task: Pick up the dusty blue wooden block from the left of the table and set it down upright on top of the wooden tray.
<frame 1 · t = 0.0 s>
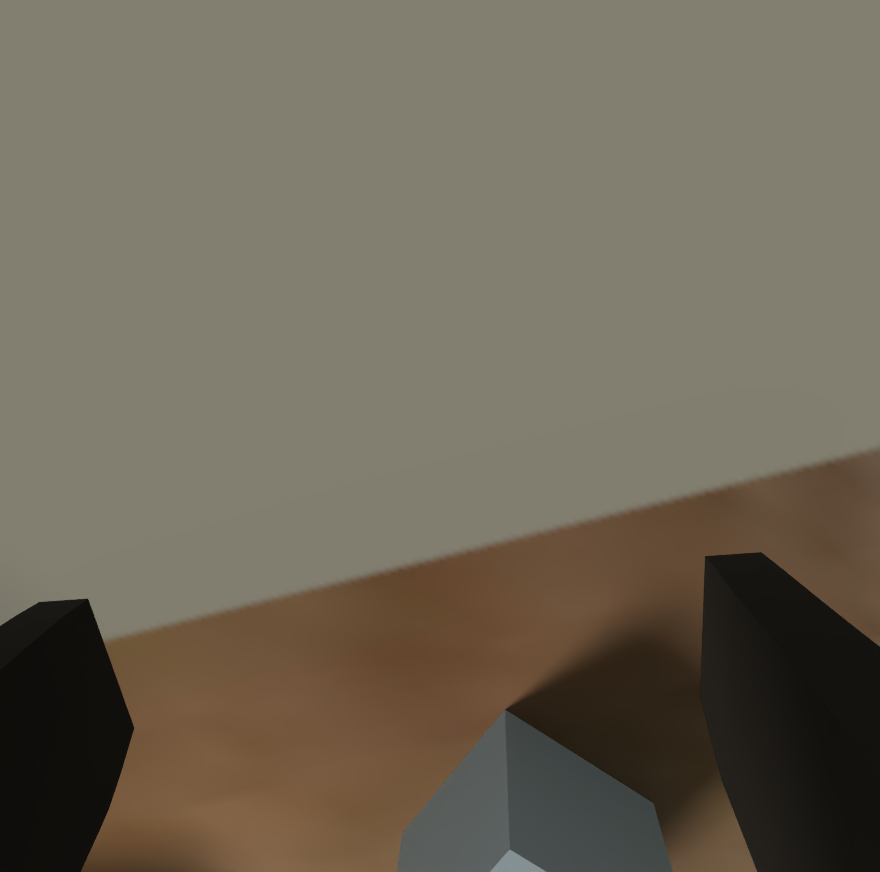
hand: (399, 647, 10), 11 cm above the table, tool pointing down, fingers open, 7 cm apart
dusty blue block: (525, 816, 23), on the table
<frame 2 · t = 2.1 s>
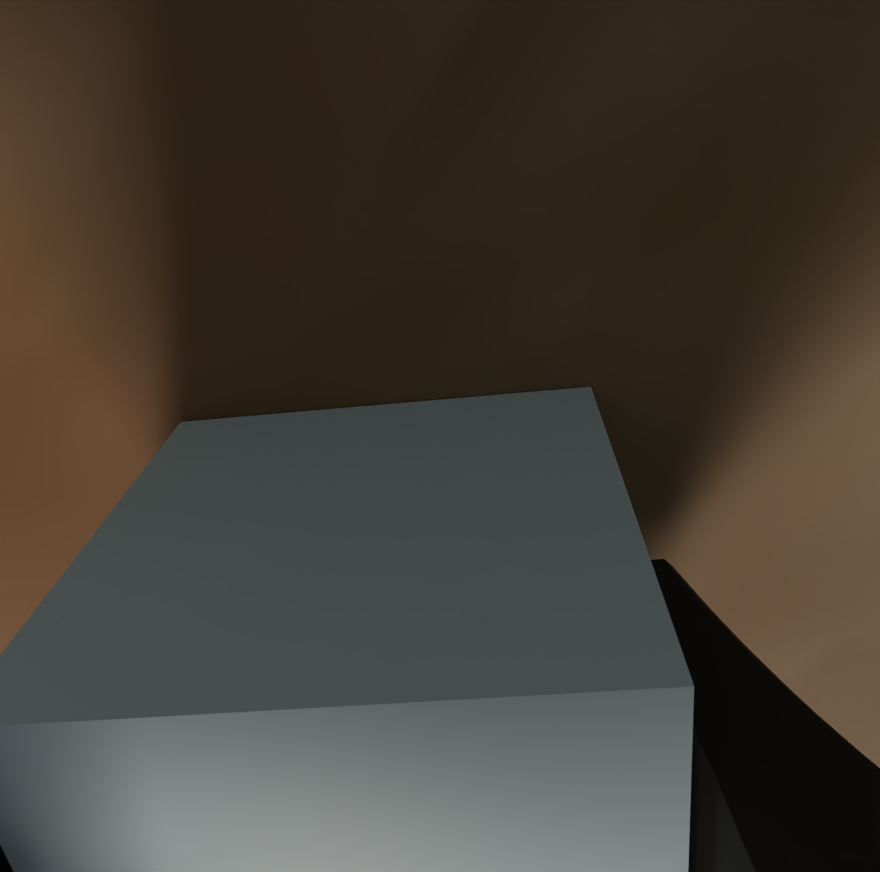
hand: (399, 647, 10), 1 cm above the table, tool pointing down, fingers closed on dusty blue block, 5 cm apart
dusty blue block: (407, 576, 11), on the table, touching gripper
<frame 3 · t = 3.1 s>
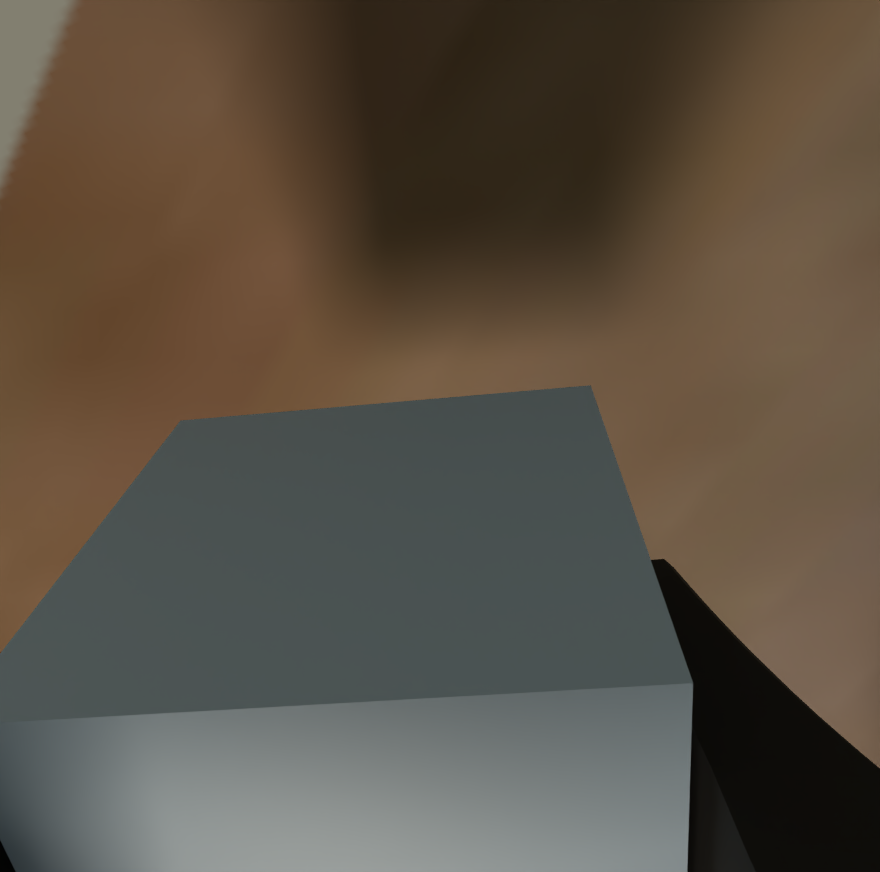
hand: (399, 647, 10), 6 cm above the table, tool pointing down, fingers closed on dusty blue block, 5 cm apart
dusty blue block: (407, 574, 11), point 5 cm above the table, touching gripper
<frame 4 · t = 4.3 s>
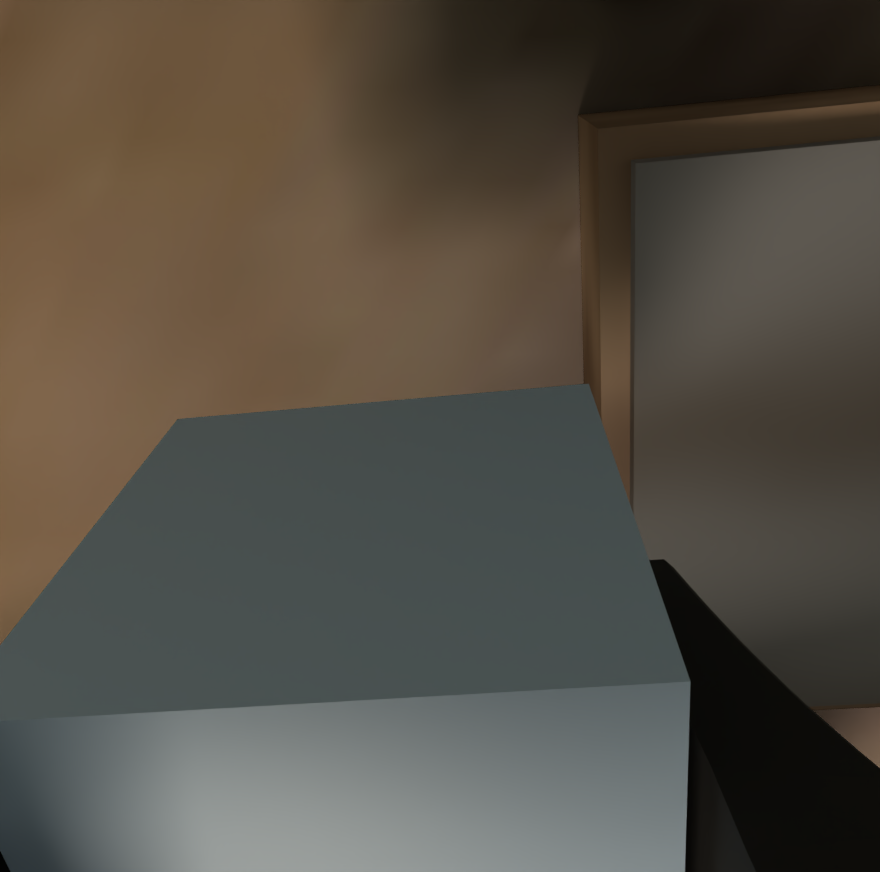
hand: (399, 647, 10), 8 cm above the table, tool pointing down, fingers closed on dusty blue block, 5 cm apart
dusty blue block: (405, 573, 11), point 7 cm above the table, touching gripper
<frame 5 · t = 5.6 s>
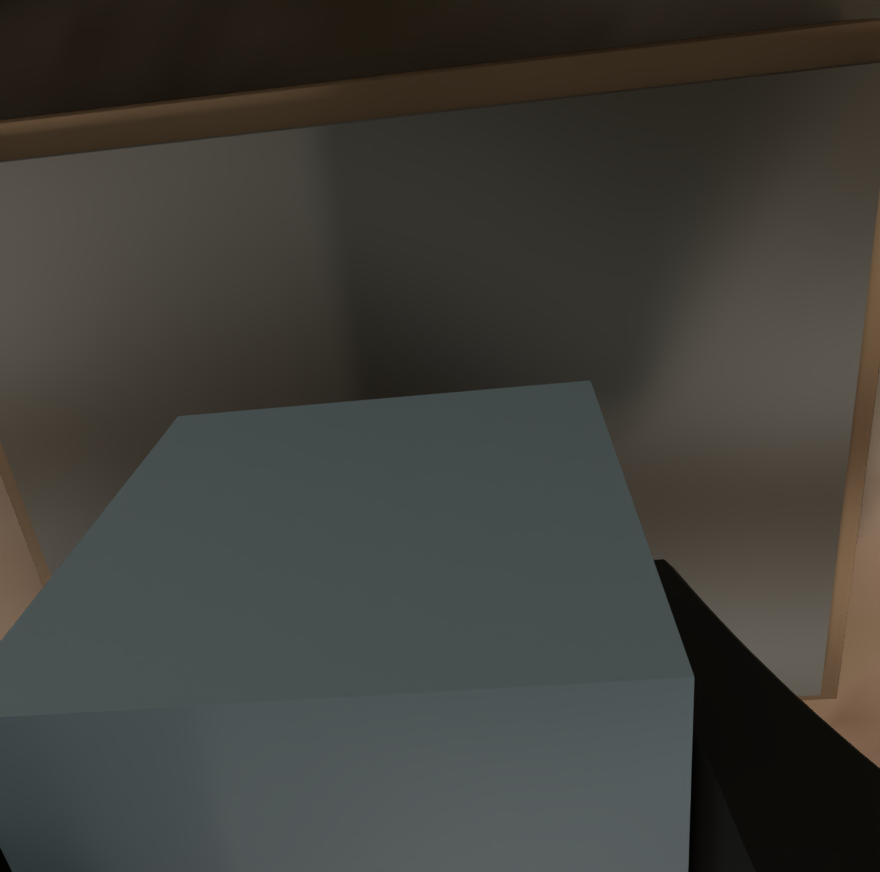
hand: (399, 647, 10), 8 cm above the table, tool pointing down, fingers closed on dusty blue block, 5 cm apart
wooden tray: (428, 398, 16), on the table
dusty blue block: (406, 571, 11), point 6 cm above the table, touching gripper
when the fingers open (5 cm above the table, at t = 6.5 s): dusty blue block stays where it is, resting on wooden tray.
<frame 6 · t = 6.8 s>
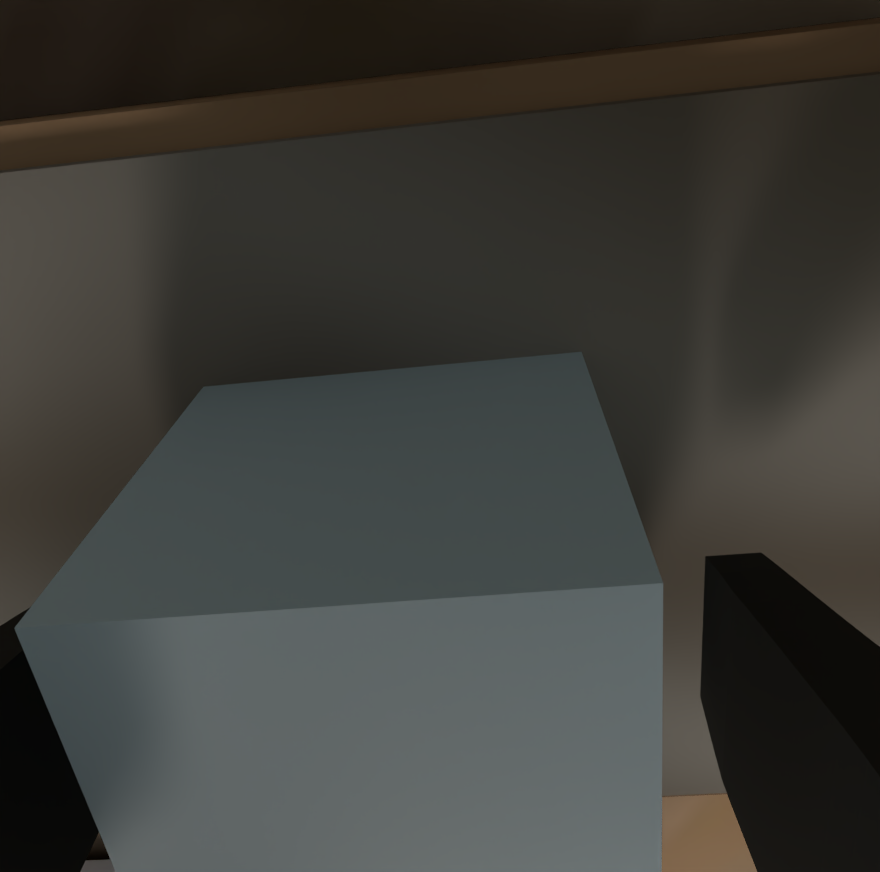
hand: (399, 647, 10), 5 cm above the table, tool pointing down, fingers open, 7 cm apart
wooden tray: (423, 444, 15), on the table
dusty blue block: (412, 531, 12), point 3 cm above the table, touching wooden tray
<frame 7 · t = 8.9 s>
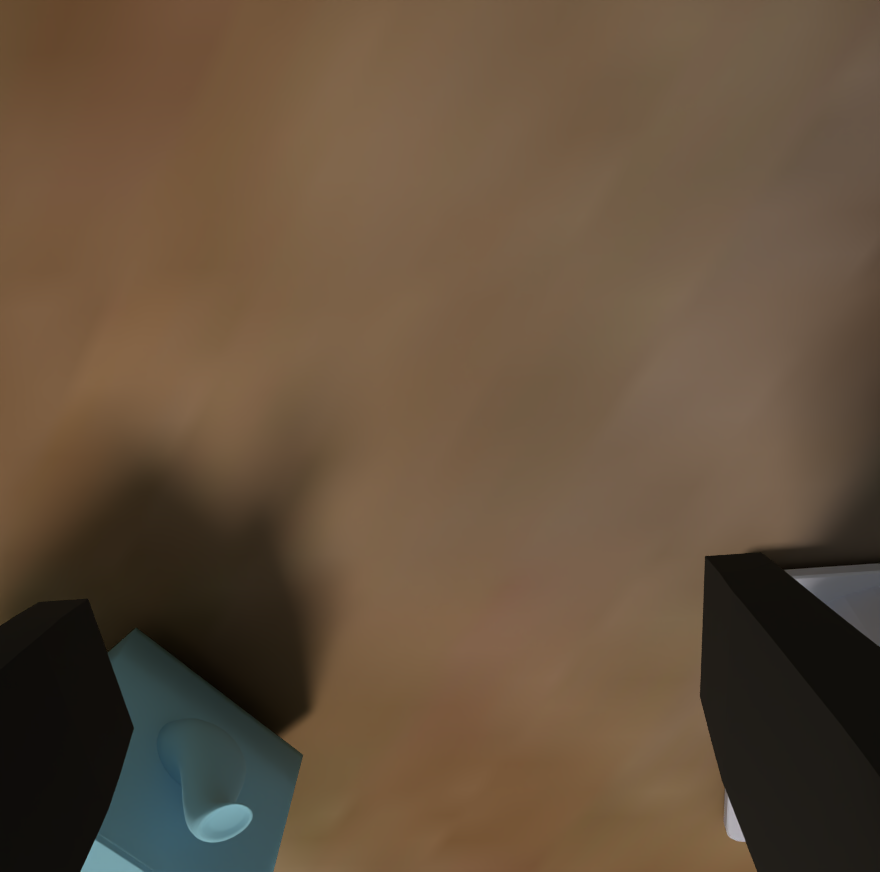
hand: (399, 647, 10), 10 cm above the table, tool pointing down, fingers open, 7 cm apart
light blue knobbed box: (177, 711, 25), on the table
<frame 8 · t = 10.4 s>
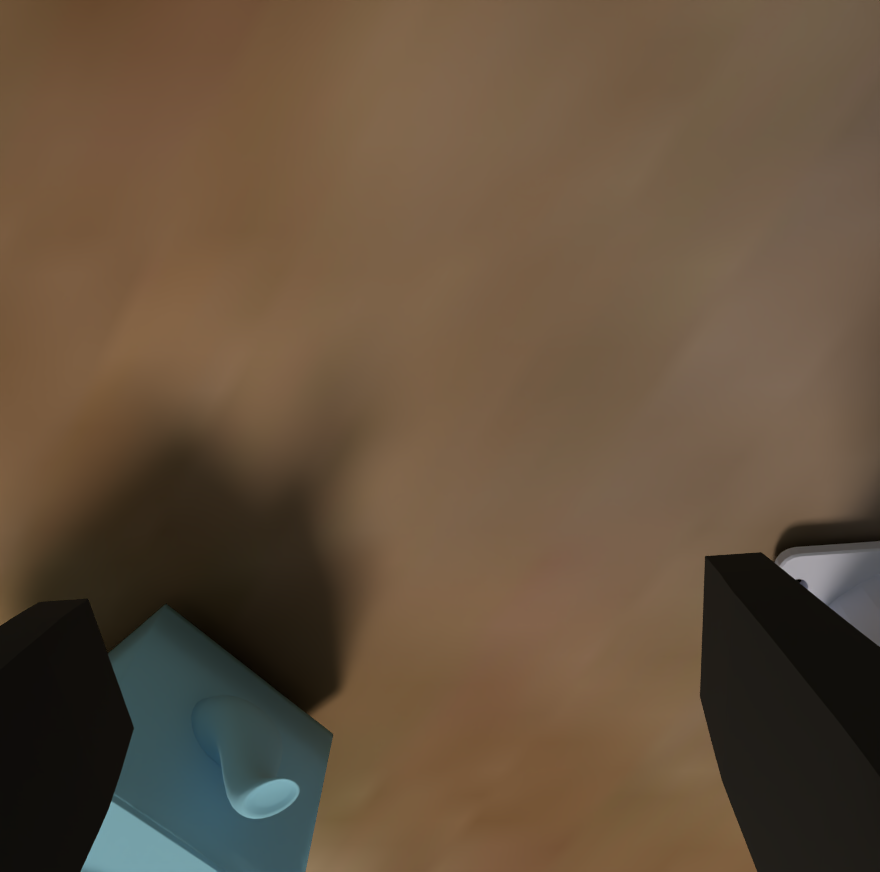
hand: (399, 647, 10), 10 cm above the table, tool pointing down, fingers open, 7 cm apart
light blue knobbed box: (203, 690, 24), on the table
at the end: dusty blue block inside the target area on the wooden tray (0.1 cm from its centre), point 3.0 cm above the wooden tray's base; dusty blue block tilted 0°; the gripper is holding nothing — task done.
